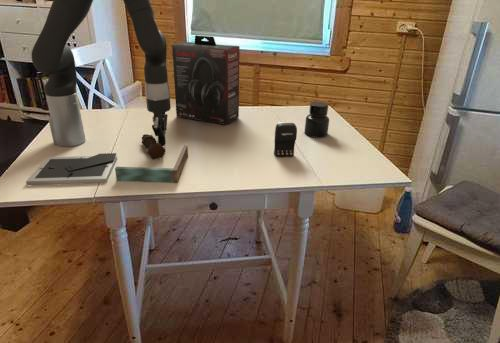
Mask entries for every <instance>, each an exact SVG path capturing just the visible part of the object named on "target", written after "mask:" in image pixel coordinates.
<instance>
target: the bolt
mask: <svg viewBox="0 0 500 343" xmlns="http://www.w3.org/2000/svg"><path fill="white" fill-rule="evenodd" d="M141 144H142V145H143V147H144V148H145V149H146V150H147V151H146V153H147V154H148V156H149V157H150V158H151V160H160V158H161V159H163V158H164V156H165V154H166V149H165V148H164V146H162V145H161V144H160V143H158V140H156V139H155V137H154V136H153V135H152V134H143V135H142V137H141Z"/></svg>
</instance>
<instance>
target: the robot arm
mask: <svg viewBox="0 0 500 343" xmlns="http://www.w3.org/2000/svg"><path fill="white" fill-rule="evenodd" d="M93 2H94V0H52V3H51V5H50V9H49V11H48V14H47V17H46V20H45V23H44V24H43V27H42V29H41V31H40V34H39V36H38V37H37V40H36V41H35V43H34V45H33V47H32V50H31V56H30V57H31V62H32V64H33V66H34V69H35V70H37V72H39V73H41V74H44V75H48V80H47V82H46V83H45V84H44V86H43V89H44V94H45V97H46V98H45V99H46V103H47V107H48V110H49V115H50V116H49V117H48V124H49V129H50V132H51V137H52V140H53V141H52V142H53V145H57V146H60V147H75V146H80V145H82V144H84V143H85V142H86V135H85V134H86V133H85V130H84V128H85V127H84V124H83V118H82V113H81V109H80V108H81V107H80V103H79V97H78V91H77V84H78V75H77V74H78V73H77V69H76V68H77V67H76V61H75V57H74V54H73V53H74V52H73V51H72V49H71V48H70V46H69V45H68V44H67V42H68V40H69V38H70V37H71V35H72V34H73V33H74V32H75V31H76V30H77V28H78V27H79V26H80V24H82V23H83V21H84V20H85V18H86V17H87V15H88V14H89V12H90V9H91V7H92V4H93ZM123 3H124V5H125V8H126V11H127V13H128V15H129V17H130V20H131V22H132V25H133V30H134V33H135V36H136V40H137V42H138V46H139V47H140V49H141V50H142V51H143V52H144V57H145V58H144V60H145V62H144V67H143V73H144V84H145V85H144V88H145V89H144V92H145V102H146V110H147V111H148V112H150V113H152V114H153V116H152V122H153V124H152V125H151V129H152V131H153V134H154V136H155V137H157V143H160V144H161V145H162V146H163V147H165V146H166V145H167V144H166V142H167V141H166V131H167V130H168V128H167V127H168V126H167V125H168V114H167V112H169V111H170V110H171V109H172V108H171V96H170V85H169V78H168V69H167V68H168V67H167V51H168V50H167V49H168V48H167V40H166V36H165V34H164V33H163V32H162V31H161V30H159V28H158V25H157V23H156V21H155V12H154V9H153V6H152V3H151V1H150V0H123Z"/></svg>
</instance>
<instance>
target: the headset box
mask: <svg viewBox="0 0 500 343" xmlns="http://www.w3.org/2000/svg"><path fill="white" fill-rule="evenodd" d="M204 39H205V40H204ZM171 48H172V50H171V51H172V63H173V78H174V79H173V81H174V94H175V97H174V98H175V112H176V113H175V114H176V117H177V118H181V119H190V120H196V121H202V122H208V123H213V124H218V125H219V124H220V125H226V126H227V125H228V124H230V123H233V121H235V120H237V119H238V118H239V117H240V116H239V115H240V114H239V113H240V108H239V107H240V106H239V105H240V45H229V44H228V45H227V44H217V43H216V40H215V37H214V36H206V35H197V34H195V36H194V42H191V41H184V42H183V41H182V42H178V43H173V44H172V45H171Z"/></svg>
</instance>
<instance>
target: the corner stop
mask: <svg viewBox="0 0 500 343" xmlns="http://www.w3.org/2000/svg"><path fill="white" fill-rule="evenodd" d="M188 147H189V146H188V145H187V144H183V146H182V148H181V150H180V152H179V155H178V157H177V160H176V162H175V164H174V166H173V168H171V167H170V168H169V167H168V168H167V167H164V168H163V167H141V166H140V167H139V166H137V167H136V166H115V167H114V172H115V178H116V182H135V183H162V184H163V183H164V184H165V183H166V184H167V183H168V184H178V183H179V180H180V179H181V175H182V173H183V171H184V168H185V166H186V163H187V160H188V158H189V148H188Z"/></svg>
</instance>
